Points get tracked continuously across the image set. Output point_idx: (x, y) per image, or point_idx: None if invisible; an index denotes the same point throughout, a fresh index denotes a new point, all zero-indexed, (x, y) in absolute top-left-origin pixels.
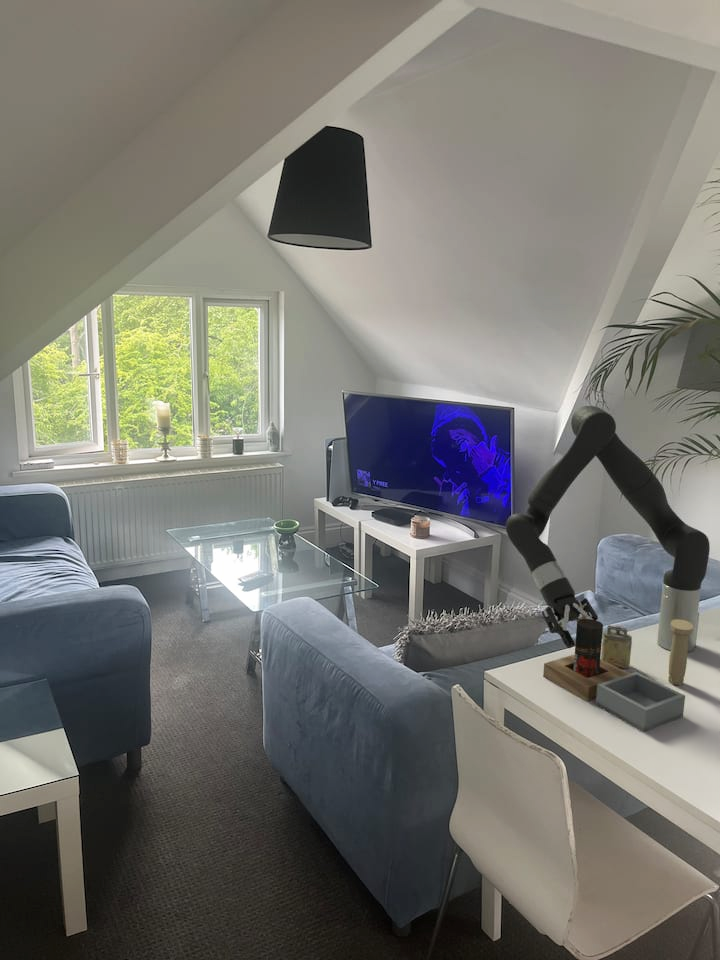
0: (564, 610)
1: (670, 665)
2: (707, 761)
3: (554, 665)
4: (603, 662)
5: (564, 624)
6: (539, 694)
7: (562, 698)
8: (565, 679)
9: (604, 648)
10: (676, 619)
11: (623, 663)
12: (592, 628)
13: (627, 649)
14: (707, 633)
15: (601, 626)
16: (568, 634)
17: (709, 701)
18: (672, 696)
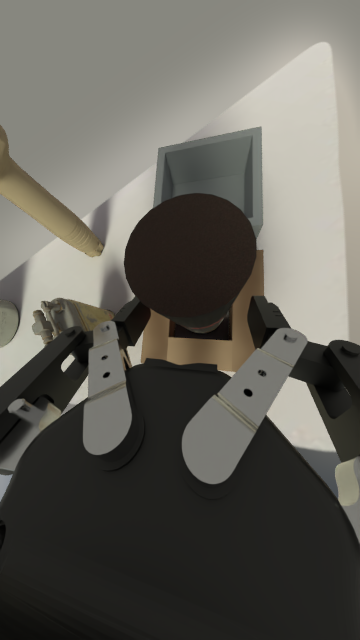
0: (255, 430)
1: (82, 233)
2: (237, 105)
3: (250, 353)
4: (151, 309)
5: (282, 350)
6: (317, 322)
7: (286, 291)
8: None
9: None
10: None
11: (108, 312)
12: (225, 201)
13: (85, 304)
14: None
15: (165, 204)
16: (272, 315)
17: (108, 200)
18: (166, 170)
